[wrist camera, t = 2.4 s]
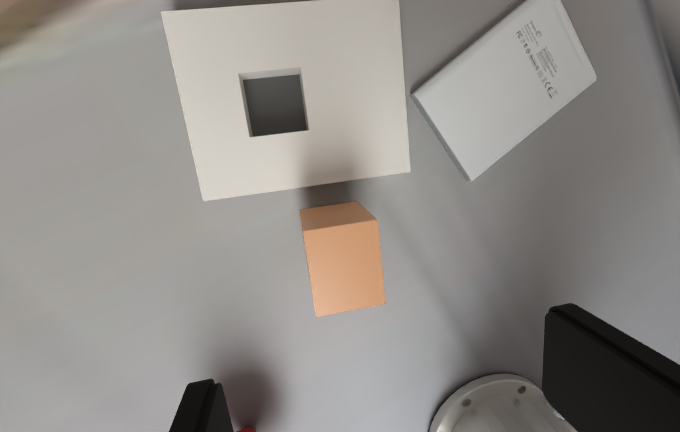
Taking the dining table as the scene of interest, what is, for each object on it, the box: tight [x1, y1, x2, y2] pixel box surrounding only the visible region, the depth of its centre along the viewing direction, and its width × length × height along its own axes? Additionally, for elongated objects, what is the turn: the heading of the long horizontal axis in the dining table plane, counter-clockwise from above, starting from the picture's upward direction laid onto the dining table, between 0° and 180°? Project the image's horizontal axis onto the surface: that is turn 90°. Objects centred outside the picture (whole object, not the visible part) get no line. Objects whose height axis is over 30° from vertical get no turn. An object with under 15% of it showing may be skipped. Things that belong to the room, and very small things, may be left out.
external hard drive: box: [410, 0, 597, 182], centre depth 25 cm, size 2×8×12 cm
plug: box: [299, 201, 386, 317], centre depth 22 cm, size 4×5×8 cm
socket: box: [161, 0, 411, 201], centre depth 22 cm, size 14×11×2 cm
